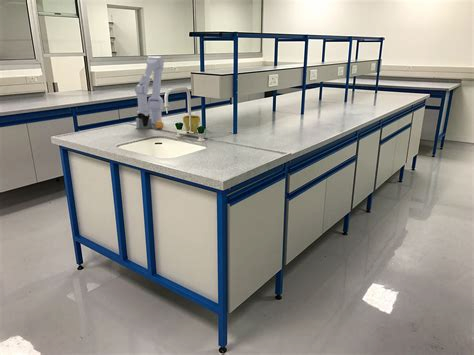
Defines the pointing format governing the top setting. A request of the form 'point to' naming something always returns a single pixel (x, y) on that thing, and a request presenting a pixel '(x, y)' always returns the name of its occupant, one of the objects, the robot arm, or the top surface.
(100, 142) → the top surface
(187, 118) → the plant pot
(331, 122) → the top surface
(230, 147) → the top surface
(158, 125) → the ball
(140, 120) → the grey block
